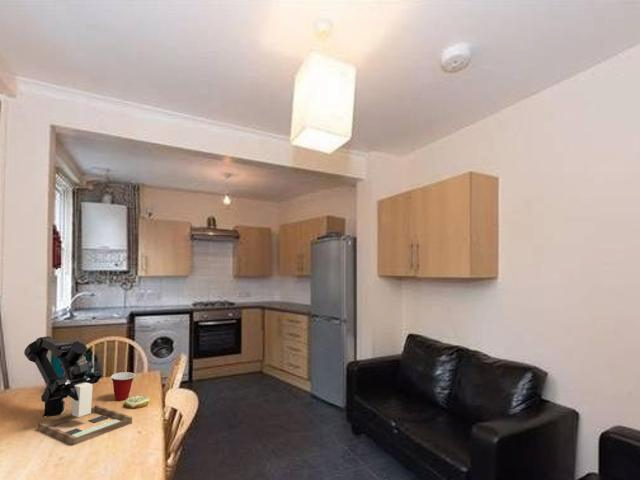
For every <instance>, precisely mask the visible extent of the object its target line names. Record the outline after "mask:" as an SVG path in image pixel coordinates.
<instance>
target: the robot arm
mask: <svg viewBox="0 0 640 480" xmlns="http://www.w3.org/2000/svg"><path fill="white" fill-rule="evenodd" d="M87 350H88V347H87V346H86V345H85V344H84V343H82V342H80V341H73V343H72V342H62V341H59V340H57V339H55V338H52V336H49V335H47V336H41V337H38V338H36V340H34V341H33V342H30V343H29V344H28V345H27V346H26V347H25V348H24V351H23V353H24V356H25V357H26V358H27V360H28V361H29V362H33V363H34V364H35V365H36V368H37V369H38V371H39V373H40V375H41V377H42V379H43V380H44V383H45V384H46V385H45V388H44V392H43V393H42V395H41V397H40V398H41V402H42V403H44V413H43V415H42V417H53V416H60V415H62V413H63V412H64V410H65V403H66V401H65V400H64V399H67V398H68V397H69V398H71V399H72V400H73V399H74V400H76V401H78V400H79V399H78V396H77V393H76V391H75V389H74V384H78V383H82V382H84V383H90V384H97V383H99V381H100V380H101V378H102V377H103V373H102V371H100V370H96V371H92V372H90V371H91V370H92V369H93V368H94V363H93V361H88V362H87V363H86V364H82V365H79V363H78V361H79V360H80V359H81V358H82V356H85V354H86V352H87ZM49 351H50V352H52V356H53V357H54V358H56V359H61V358H62V359H61V360H60V363H59V365H58V366H59V367H60V368H62V367H63V368H62V370H63V372H64V373H65V374H63V376H58V374H57V372H56V370H55V369H54V366H53V365H52V363H51V361H50V360H49V358H48V352H49ZM87 372H90V373H89V375H88V376H86V377H84V376H85V375H87ZM65 377H67V379H68V380H66V379H65Z"/></svg>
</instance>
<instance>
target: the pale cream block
mask: <svg viewBox="0 0 640 480" xmlns="http://www.w3.org/2000/svg"><path fill="white" fill-rule="evenodd" d="M74 389H75V391H76V393H77V396H78V399H79V400H78V401H76V400H74V399H73V398H72V406H71V408H72V409H71V414H72V415H74V416H76V417H79V418H81V416H82V417H85V416H84V415H86V416H88V415H87V414H89V415H91V414H90V413H91V408H92V401H93V399H92V398H93V384H90V383H82V384H78V385H74Z"/></svg>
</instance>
